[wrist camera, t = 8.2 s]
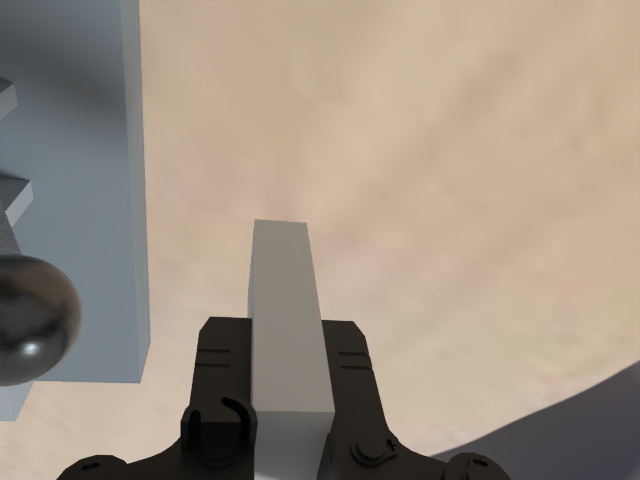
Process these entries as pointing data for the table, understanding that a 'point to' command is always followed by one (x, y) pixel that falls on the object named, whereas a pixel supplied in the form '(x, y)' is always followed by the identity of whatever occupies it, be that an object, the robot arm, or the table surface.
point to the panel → (78, 173)
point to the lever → (33, 313)
